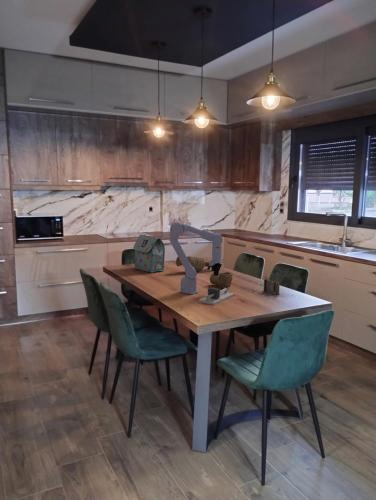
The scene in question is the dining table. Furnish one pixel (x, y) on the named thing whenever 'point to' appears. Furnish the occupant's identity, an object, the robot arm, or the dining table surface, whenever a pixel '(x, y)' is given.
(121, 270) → the dining table surface
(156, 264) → the lunch bag
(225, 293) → the rail board
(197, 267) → the olive brown long piece
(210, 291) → the collar
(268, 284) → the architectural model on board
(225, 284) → the brown lobed block
